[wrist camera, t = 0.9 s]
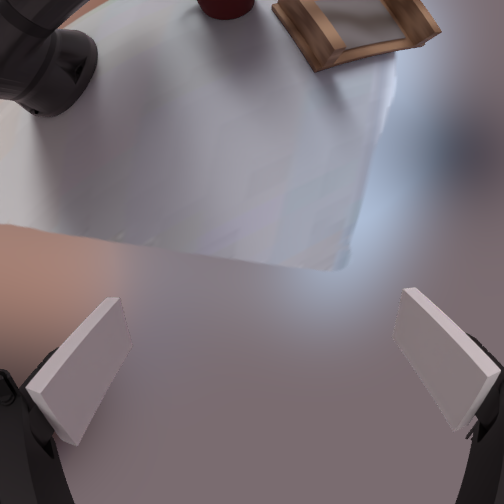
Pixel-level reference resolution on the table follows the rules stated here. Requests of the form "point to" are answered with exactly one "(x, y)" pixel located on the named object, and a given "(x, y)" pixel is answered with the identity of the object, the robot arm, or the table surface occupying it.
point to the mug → (226, 8)
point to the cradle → (354, 28)
